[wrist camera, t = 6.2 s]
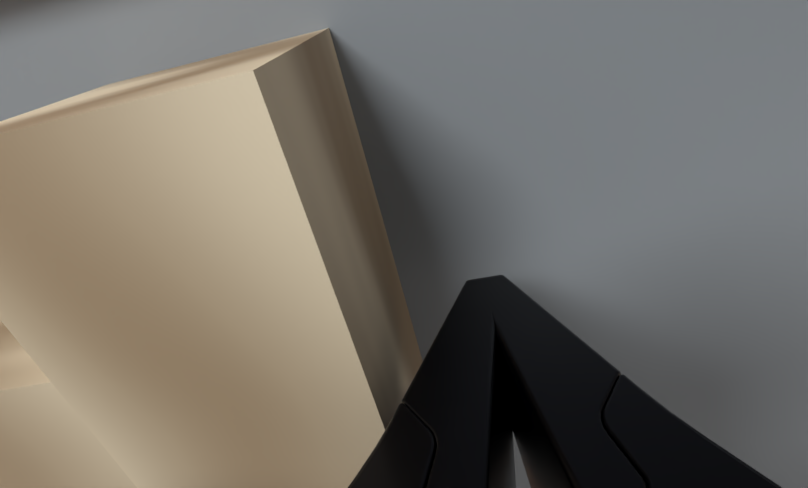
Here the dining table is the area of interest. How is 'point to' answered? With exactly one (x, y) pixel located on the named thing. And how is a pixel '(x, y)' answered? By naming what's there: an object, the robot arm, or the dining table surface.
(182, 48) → the board
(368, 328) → the t block
